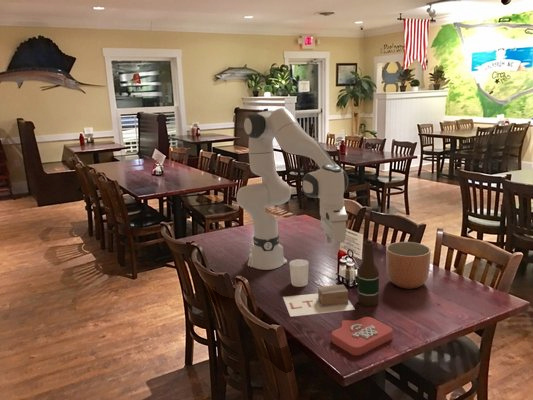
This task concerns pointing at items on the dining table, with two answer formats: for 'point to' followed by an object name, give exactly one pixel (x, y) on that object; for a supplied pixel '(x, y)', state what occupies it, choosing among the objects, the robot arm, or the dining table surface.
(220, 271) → the dining table surface
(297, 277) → the white cup
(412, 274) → the planter
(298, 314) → the board
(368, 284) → the beer bottle
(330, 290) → the walnut bar
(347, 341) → the plaque
